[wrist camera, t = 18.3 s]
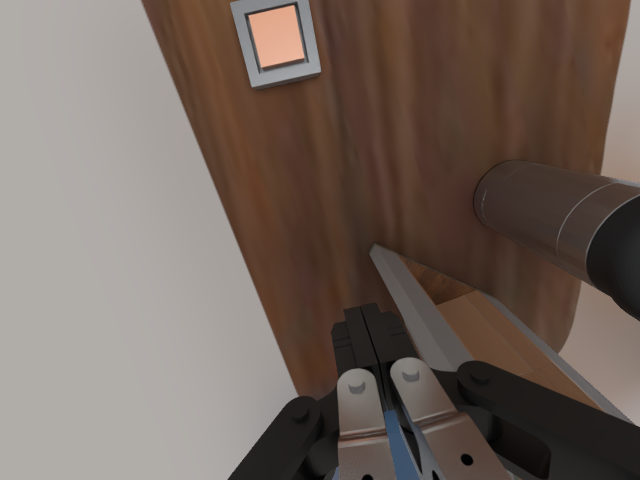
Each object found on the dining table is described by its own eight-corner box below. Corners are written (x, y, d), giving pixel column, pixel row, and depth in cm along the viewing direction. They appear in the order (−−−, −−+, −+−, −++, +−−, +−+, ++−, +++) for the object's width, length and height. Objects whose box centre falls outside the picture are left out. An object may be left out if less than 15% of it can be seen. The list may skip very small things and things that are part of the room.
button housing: (304, 0, 32) (305, -15, 28) (318, 76, 34) (321, 71, 31) (237, 16, 32) (229, 2, 28) (256, 90, 35) (251, 87, 31)
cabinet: (493, 296, 47) (739, 519, 21) (456, 344, 50) (632, 592, 24) (373, 242, 42) (498, 442, 16) (341, 299, 45) (402, 545, 19)
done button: (294, 13, 30) (294, 5, 28) (303, 62, 32) (304, 57, 30) (252, 23, 30) (248, 15, 28) (263, 70, 32) (261, 67, 30)
